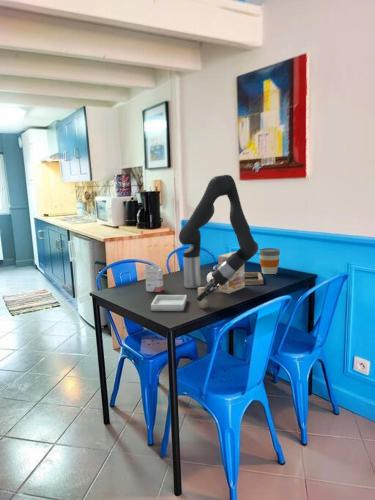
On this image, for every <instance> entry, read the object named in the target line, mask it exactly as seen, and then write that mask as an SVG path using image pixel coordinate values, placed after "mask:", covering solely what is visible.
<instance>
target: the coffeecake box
mask: <svg viewBox="0 0 375 500" xmlns="http://www.w3.org/2000/svg"><path fill="white" fill-rule="evenodd" d="M235 252H236V251H234V252H233V251H232V252H229V253H223V254H221V255H220V254H219V255H218V256H217V257H218V258H217V261H218V267H219V266H220V265H221V264H222V263H223V262H225V261H226V260H227V259H228V258H229V257H230V256H231V255H232V254H233V253H235ZM218 267H217V268H218ZM245 278H246V277H245V263H244V264H243V265H242V267H241V268H240V269H239V270H238V271H236V273H235V274H234V275H233V276H232V277H231V278H230V279H229V280H228V281H227V282H226V283H225V284H224V285H223V286H222V285H220V284H218V292H219V293H225V294H229V295H230V294H231V293H234V292H236V291H239V290H241V289H244V288H245V287H246V285H245V280H246V279H245Z"/></svg>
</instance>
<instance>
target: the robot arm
mask: <svg viewBox="0 0 375 500" xmlns="http://www.w3.org/2000/svg"><path fill="white" fill-rule="evenodd" d="M236 185H237V184H236V181H235V179H234V178H233V176H232V175H230V174H223V175H222V174H221V175H217V176H213V177H212V178H211V179H210V180H209V181H208V184H207V186H206V189H205V190H204V193H203V196H202V197H201V198H200V201H199V202H198V204H197V206H196V207H195V209H194V210H193V212H192V214H191V216H190V217H189V219H188V220H187V221H186V223H185V224H184V225H183V227H182V228H181V229H180V232H179V234H178V241H179V243H181V245H184V246H186V245H190V246H189V247H188V248H186V249H185V250H184V251H182V259H183V261H182V262H183V283H184V285H183V286H184V288H187V289H198V288H199V287H202V286H201V283H202V282H201V259H200V255H201V242H202V241H201V239H202V237H201V231H200V229H201V228H202V227H204V226H205V225H206V224H208V223H209V222H210V221H211V219H212V217H213V216H214V214H215V205H214V203H215V202H216V200H217V199H218V198H219V197H223V196H227V198H228V200H229V205H230V208H229V209H230V211H229V221H230V225H231V227H232V229H233V232H234V234H235V237H236V239H237V242H238V245H239V248H238V250H237V251H234V252H235V253H233V254H232V255H231V256H230V257H229V258H228V259H227V260H226V261H225V262H223V263H222V264H221V265H220V266H219V267H217V268H216V269H215V270H214V271H213V272H212V273H211V277H212V278H210V280H208V282H207V283H206V284H205V285H204V286H203V287H205V290H204V291H203V292H202V293H201V294H200V295H199V296H198V295H197V296H196V300H197V302H198V301H199V302H200V301H201V300H202V299H203V298H204V297H207V298H208V297H209V295H210V294H212V293H213V292H214V291H215V290H216V289H217V288H218V286H219V284H220V285H222V286H223V285H224V284H225V283H226V282H227V281H228V280H229V279H230V278H231V277H232V276H233V275H234V274H235V273H236V271H238V270H239V269H240V268H241V267H242V265H243V264H244V265H245V263H247V262H248V261H249V260H250V259H252V258H253V257H254V256H255V255H256V254H257V253H258V251H259V245H258V243H257V242H256V241H255V239H254V238H253V237H254V236H253V235H252V233H251V229H250V225H249V223H248V221H247V218H246V216H245V214H244V212H243V211H244V210H243V208H242V204H241V201H240V200H241V199H240V196H239V193H238V188H237V186H236ZM206 291H207V293H206Z"/></svg>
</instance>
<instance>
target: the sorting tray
mask: <svg viewBox="0 0 375 500" xmlns="http://www.w3.org/2000/svg"><path fill="white" fill-rule="evenodd" d="M187 296H188V295H187V294H156V296H155V297H154V298H153V300H152V302H151V303H150V311H151V312H172V311H173V312H184V311H185V308H186V306H187V305H186V304H187V302H188V298H187Z"/></svg>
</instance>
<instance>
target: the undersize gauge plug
mask: <svg viewBox="0 0 375 500" xmlns="http://www.w3.org/2000/svg"><path fill="white" fill-rule="evenodd" d="M204 290H205V287H204V286H200V287H198V288H197V297H198V296H199V295H200V294H201V293H202V292H203V291H204ZM206 293H208V292H207V291H206ZM197 304H198V305H197V306H198V309H207V308H208V306H209V305H208V296H207V297H204V298H203V299H202V300H201V301H200V302H199V301H198V300H197Z"/></svg>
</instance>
